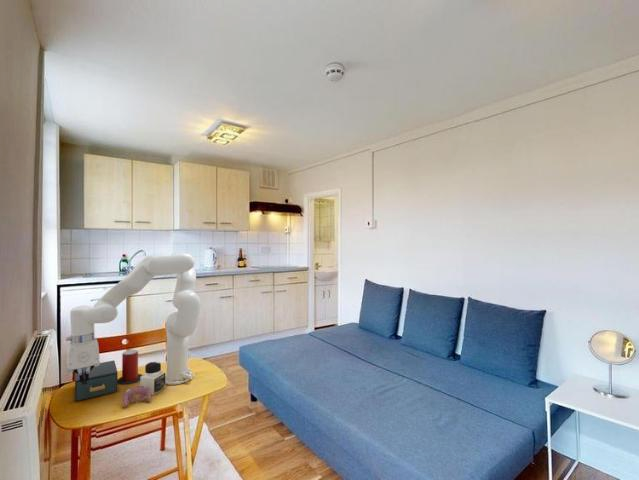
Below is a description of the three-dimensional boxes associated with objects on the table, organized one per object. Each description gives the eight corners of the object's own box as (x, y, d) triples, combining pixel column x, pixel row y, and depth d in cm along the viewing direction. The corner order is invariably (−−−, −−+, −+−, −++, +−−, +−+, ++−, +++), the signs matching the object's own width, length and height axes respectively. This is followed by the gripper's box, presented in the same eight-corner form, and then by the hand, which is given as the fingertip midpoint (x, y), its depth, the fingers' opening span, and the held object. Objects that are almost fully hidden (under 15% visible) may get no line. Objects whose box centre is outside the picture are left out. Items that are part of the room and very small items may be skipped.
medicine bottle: (154, 395, 136) (154, 367, 135) (139, 393, 137) (140, 365, 137) (165, 387, 143) (165, 360, 142) (151, 385, 144) (151, 359, 144)
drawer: (116, 394, 134) (117, 378, 133) (76, 404, 126) (76, 387, 125) (113, 378, 148) (113, 364, 148) (77, 386, 140) (77, 371, 140)
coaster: (148, 376, 153) (148, 375, 153) (129, 386, 143) (129, 385, 143) (131, 373, 156) (131, 372, 156) (111, 382, 146) (111, 381, 146)
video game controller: (150, 401, 133) (149, 384, 136) (151, 401, 130) (150, 383, 132) (122, 408, 128) (122, 389, 130) (122, 408, 124) (122, 388, 127)
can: (129, 382, 146) (129, 355, 145) (118, 380, 148) (118, 353, 147) (141, 376, 152) (141, 350, 152) (130, 374, 154) (131, 348, 154)
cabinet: (117, 391, 138) (117, 371, 138) (74, 401, 129) (75, 380, 129) (114, 378, 151) (114, 360, 151) (75, 386, 142) (75, 367, 142)
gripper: (58, 344, 119) (59, 392, 120) (106, 336, 128) (107, 381, 129) (59, 339, 125) (60, 385, 126) (105, 331, 134) (106, 374, 135)
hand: (84, 383), depth 127 cm, fingers closed
